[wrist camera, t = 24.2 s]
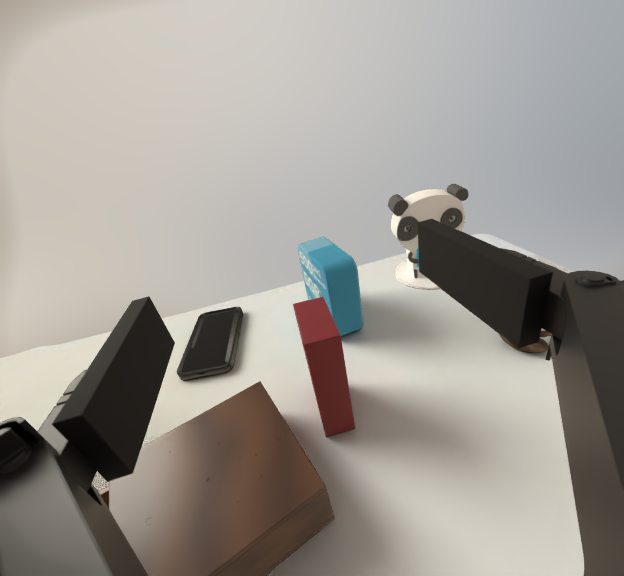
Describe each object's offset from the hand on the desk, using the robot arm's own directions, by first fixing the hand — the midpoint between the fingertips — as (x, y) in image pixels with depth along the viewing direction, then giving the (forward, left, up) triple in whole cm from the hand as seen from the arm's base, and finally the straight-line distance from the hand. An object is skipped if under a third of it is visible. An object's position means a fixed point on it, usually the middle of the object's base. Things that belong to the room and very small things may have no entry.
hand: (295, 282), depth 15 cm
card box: (-9, +5, -22) cm, 25 cm away
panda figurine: (-22, +35, -23) cm, 47 cm away
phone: (-31, -3, -22) cm, 38 cm away
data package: (-23, +15, -23) cm, 35 cm away
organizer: (-6, -9, -22) cm, 25 cm away
